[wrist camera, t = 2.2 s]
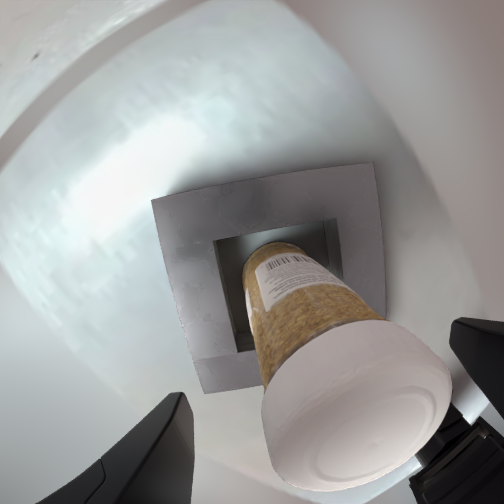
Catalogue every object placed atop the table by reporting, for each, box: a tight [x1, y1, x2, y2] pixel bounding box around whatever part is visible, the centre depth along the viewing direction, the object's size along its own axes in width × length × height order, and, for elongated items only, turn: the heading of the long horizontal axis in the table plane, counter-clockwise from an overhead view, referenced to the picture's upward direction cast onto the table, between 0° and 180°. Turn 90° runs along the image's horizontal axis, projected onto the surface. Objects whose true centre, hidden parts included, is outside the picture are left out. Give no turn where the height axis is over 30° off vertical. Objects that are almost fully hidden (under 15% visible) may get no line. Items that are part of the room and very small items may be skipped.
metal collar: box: [151, 163, 386, 394], centre depth 17 cm, size 12×12×2 cm
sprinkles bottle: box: [242, 242, 452, 491], centre depth 11 cm, size 5×5×14 cm
